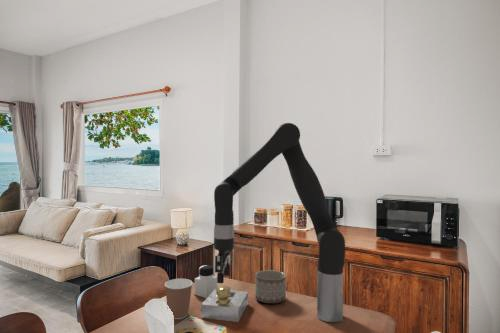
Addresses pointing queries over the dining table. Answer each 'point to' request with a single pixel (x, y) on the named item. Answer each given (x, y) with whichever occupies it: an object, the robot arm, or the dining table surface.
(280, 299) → the planter
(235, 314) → the jig
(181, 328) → the dining table surface
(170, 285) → the coffee cup
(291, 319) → the dining table surface
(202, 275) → the medicine bottle
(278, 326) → the dining table surface
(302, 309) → the dining table surface
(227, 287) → the brass knob
